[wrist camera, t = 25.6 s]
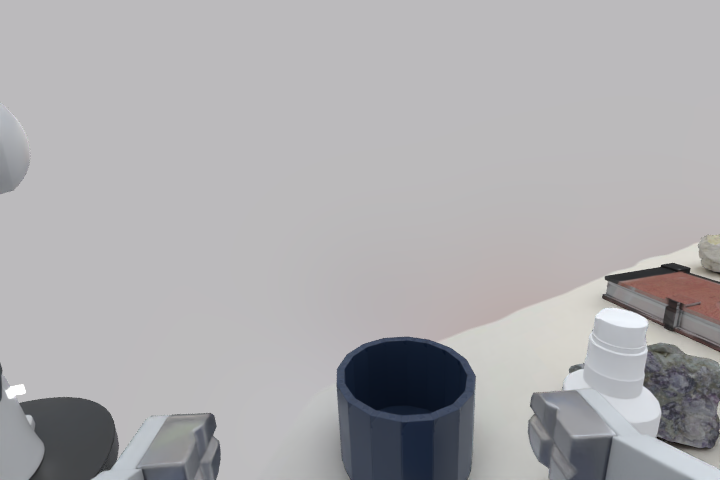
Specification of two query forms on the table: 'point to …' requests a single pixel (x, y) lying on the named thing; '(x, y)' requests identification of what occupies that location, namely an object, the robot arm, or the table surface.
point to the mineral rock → (682, 394)
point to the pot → (406, 411)
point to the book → (671, 300)
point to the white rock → (710, 252)
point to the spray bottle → (619, 368)
